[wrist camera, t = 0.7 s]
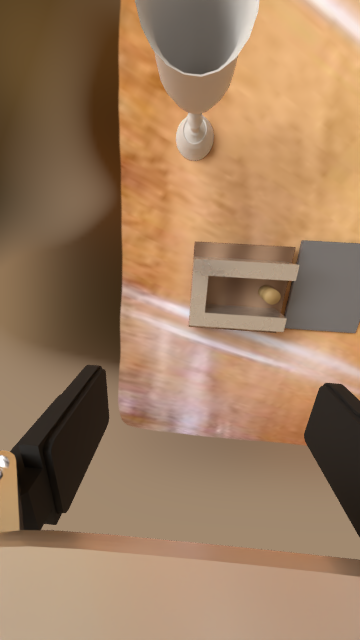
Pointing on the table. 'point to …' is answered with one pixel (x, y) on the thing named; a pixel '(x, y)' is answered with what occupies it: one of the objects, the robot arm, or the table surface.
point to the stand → (244, 289)
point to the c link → (236, 314)
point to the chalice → (196, 57)
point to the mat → (325, 288)
